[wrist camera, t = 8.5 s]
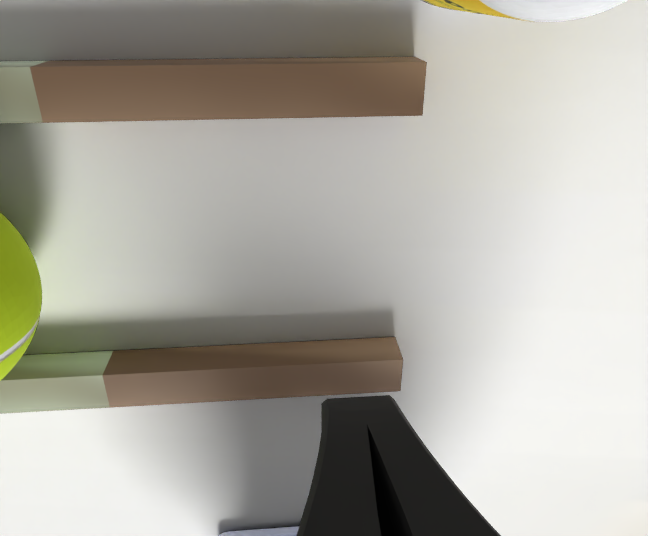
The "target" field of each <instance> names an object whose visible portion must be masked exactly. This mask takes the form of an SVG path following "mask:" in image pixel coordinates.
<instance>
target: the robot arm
mask: <svg viewBox="0 0 648 536" xmlns="http://www.w3.org/2000/svg"><path fill="white" fill-rule="evenodd" d="M321 405H322V433H321V441H320V447H319V453H318V458H317V463H316V467H315V471H314V476H313V480H312V485H311V489H310V492H309V496H308V499H307V503H306V506H305V509H304V513H303V516H302V519H301V522H300V526H296V527H283V528H269V529H256V530H242V531H229V532H223V533H222V534H220V535H219V536H501V535H500V534H499V533H498V532H497V531H496V530H495V529H494V528H493V527H492V526H491V525H490V524H489V523H488V522H487V520H486V519H485V518H484V517H483V516H482V515H481V514H480V513H479V511H478V510H477V509H476V508H475V507H474V506H473V505H472V504H471V502H470V501H469V500H468V499H467V498H466V497H465V495H464V494H463V493H462V492H461V491H460V489H459V488H458V487H457V486H456V485H455V483H454V482H453V481H452V480H451V478H450V477H449V476H448V475H447V473H446V472H445V471H444V470H443V468H442V467H441V466H440V464H439V463H438V462H437V461H436V459H435V458H434V457H433V455H432V454H431V453H430V451H429V450H428V449H427V447H426V446H425V445H424V443H423V442H422V441H421V439H420V438H419V436H418V435H417V434H416V432H415V431H414V429H413V428H412V426H411V425H410V423H409V422H408V420H407V419H406V417H405V416H404V414H403V413H402V411H401V410H400V408H399V407H398V405H397V403H396V402H395V400H394V399H393V398H392V397H391V396H390V395H386V396H368V397H351V398H333V399H327V400H325V401H324V402H323V403H322V404H321Z"/></svg>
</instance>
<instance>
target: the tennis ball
mask: <svg viewBox="0 0 648 536" xmlns="http://www.w3.org/2000/svg"><path fill="white" fill-rule="evenodd" d="M41 305H42V288H41V280H40V275H39V271H38V268H37V265H36V262H35V259H34V257H33V255H32V253H31V251H30V249H29V247H28V245H27V243H26V242H25V240H24V239H23V237H22V236H21V234H20V233H19V232H18V230H17V229H16V228H15V227H14V226H13V225H12V224H11V222H10V221H9V220H8V219H7V218H6V217H5V216H4V215H3V214H1V213H0V381H1V380H2V379H3V378H4V377H5V376H6V375H7V374H8V373H9V372H10V371H11V370H12V368H13V367H14V366H15V365H16V364H17V362H18V361H19V360H20V358H21V357H22V356H23V354H24V353H25V351H26V349H27V348H28V346H29V344H30V342H31V340H32V338H33V336H34V333H35V331H36V328H37V325H38V322H39V317H40V311H41Z"/></svg>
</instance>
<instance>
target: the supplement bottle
mask: <svg viewBox="0 0 648 536" xmlns="http://www.w3.org/2000/svg"><path fill="white" fill-rule="evenodd" d="M421 1H424V2H426V3H428V4H431V5H434V6H438V7H442V8H447V9H452V10H460V11H467V12H472V13H479V14H487V15H493V16H499V17H506V18H512V19H518V20H524V21H533V22H560V21H570V20H575V19H581V18H585V17H589V16H592V15H596V14H599V13H602V12H605V11H607V10H609V9H611V8H613V7H615V6H618V5H620V4H622V3H624V2H626V1H628V0H421Z"/></svg>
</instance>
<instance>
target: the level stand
mask: <svg viewBox="0 0 648 536" xmlns="http://www.w3.org/2000/svg"><path fill="white" fill-rule="evenodd" d="M426 63H427V62H425V61H423V60H421V59H419V58H416V57H336V58H244V59H152V60H60V61H0V123H49V122H102V121H155V120H208V119H261V118H314V117H366V116H419V115H422V114H423V101H424V89H425V76H426ZM402 365H403V358H402V355H401V353H400V350H399V347H398V344H397V341H396V338H395V337H383V338H363V339H343V340H322V341H302V342H281V343H261V344H241V345H220V346H200V347H180V348H159V349H139V350H118V351H98V352H78V353H57V354H37V355H23V356H22V357H21V358H20V360H19V361H18V362H17V364H16V365H15V366H14V367H13V368H12V370H11V371H10V372H9V373H8V374H7V375H6V376H5V377H4V378H3V379H2V380H1V381H0V414H2V413H20V412H37V411H55V410H73V409H90V408H108V407H126V406H144V405H161V404H179V403H197V402H214V401H232V400H250V399H267V398H285V397H303V396H321V395H338V394H356V393H374V392H391V391H400V390H401V378H402Z"/></svg>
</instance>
